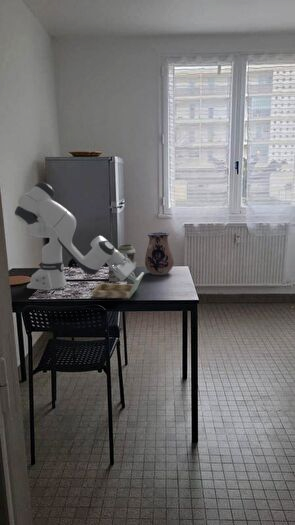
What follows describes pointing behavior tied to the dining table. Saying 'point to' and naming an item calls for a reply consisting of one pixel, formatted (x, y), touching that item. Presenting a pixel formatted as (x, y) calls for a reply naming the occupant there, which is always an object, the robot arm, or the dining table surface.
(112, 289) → the truck bed crate
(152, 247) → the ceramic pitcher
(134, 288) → the pale green flat slab
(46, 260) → the robot arm
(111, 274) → the coffee box
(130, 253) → the apothecary jar
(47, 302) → the dining table surface
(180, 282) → the dining table surface
